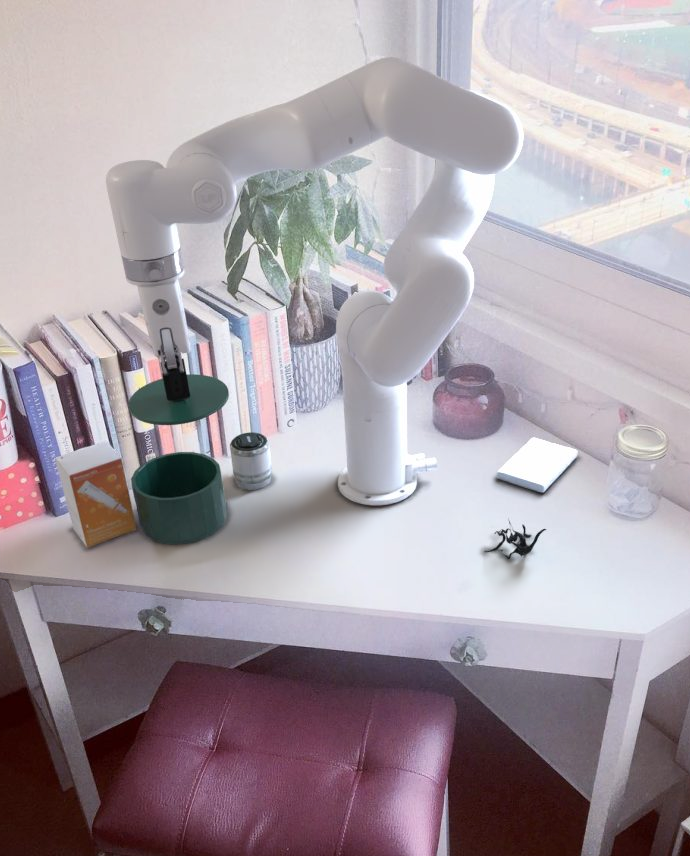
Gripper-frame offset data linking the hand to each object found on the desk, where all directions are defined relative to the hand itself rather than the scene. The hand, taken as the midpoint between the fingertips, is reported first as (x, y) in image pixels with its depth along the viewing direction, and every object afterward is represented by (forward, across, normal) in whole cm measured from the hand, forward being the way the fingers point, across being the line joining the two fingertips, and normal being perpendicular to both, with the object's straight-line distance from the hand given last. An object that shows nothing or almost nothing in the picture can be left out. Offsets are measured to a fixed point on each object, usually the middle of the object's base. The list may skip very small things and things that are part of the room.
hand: (177, 391), depth 126 cm
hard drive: (+23, -1, -54) cm, 59 cm away
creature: (+23, -20, -42) cm, 52 cm away
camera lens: (+23, +9, -9) cm, 26 cm away
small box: (+22, +2, +15) cm, 27 cm away
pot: (+22, +1, +3) cm, 22 cm away
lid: (+1, 0, 0) cm, 1 cm away
